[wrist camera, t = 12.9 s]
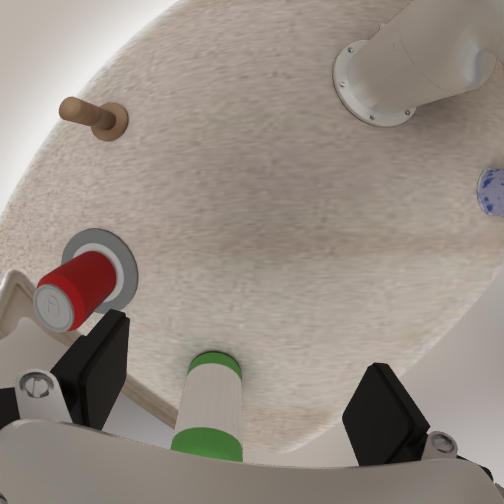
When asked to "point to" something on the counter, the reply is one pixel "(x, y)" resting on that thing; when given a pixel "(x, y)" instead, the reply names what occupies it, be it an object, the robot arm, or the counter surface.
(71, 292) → the beverage can
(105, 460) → the robot arm
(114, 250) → the pad
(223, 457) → the wine bottle
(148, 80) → the counter surface
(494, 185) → the aerosol can
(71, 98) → the stand post
